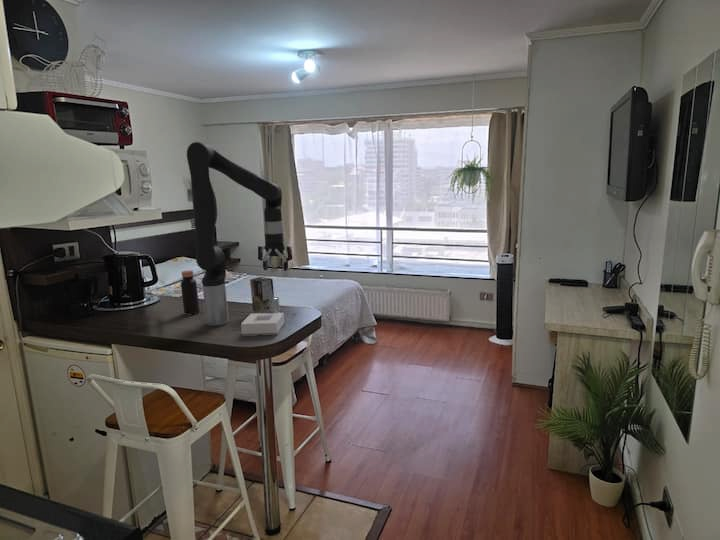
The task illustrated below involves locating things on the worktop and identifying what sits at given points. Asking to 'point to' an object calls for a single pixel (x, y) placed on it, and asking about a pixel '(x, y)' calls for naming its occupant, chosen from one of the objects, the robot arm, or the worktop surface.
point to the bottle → (189, 293)
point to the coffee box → (261, 294)
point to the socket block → (262, 324)
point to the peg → (274, 305)
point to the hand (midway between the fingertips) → (275, 270)
